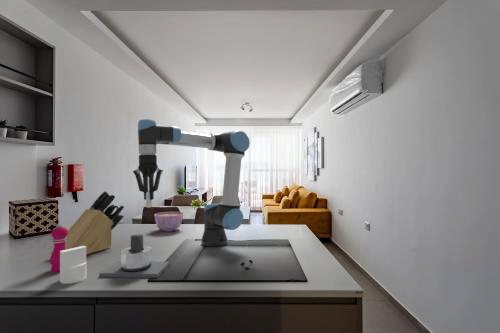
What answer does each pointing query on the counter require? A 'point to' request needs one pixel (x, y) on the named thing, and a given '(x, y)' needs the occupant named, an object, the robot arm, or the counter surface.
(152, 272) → the grey rectangular board
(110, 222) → the knife block
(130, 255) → the light gray faceted ring
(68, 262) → the cylinder with rectangular tab
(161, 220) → the bowl of food
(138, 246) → the dark grey tall cylinder
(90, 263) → the counter surface
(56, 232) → the pepper mill
